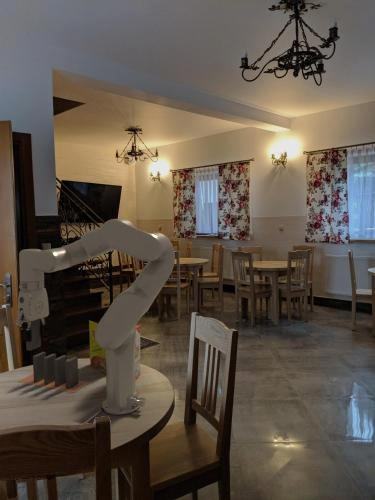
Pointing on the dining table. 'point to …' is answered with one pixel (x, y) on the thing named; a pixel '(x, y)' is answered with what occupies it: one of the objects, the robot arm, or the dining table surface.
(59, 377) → the domino
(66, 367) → the domino
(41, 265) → the robot arm
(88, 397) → the dining table surface
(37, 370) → the domino
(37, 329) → the domino
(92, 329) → the food package
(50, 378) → the domino
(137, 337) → the cracker box
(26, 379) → the domino board
